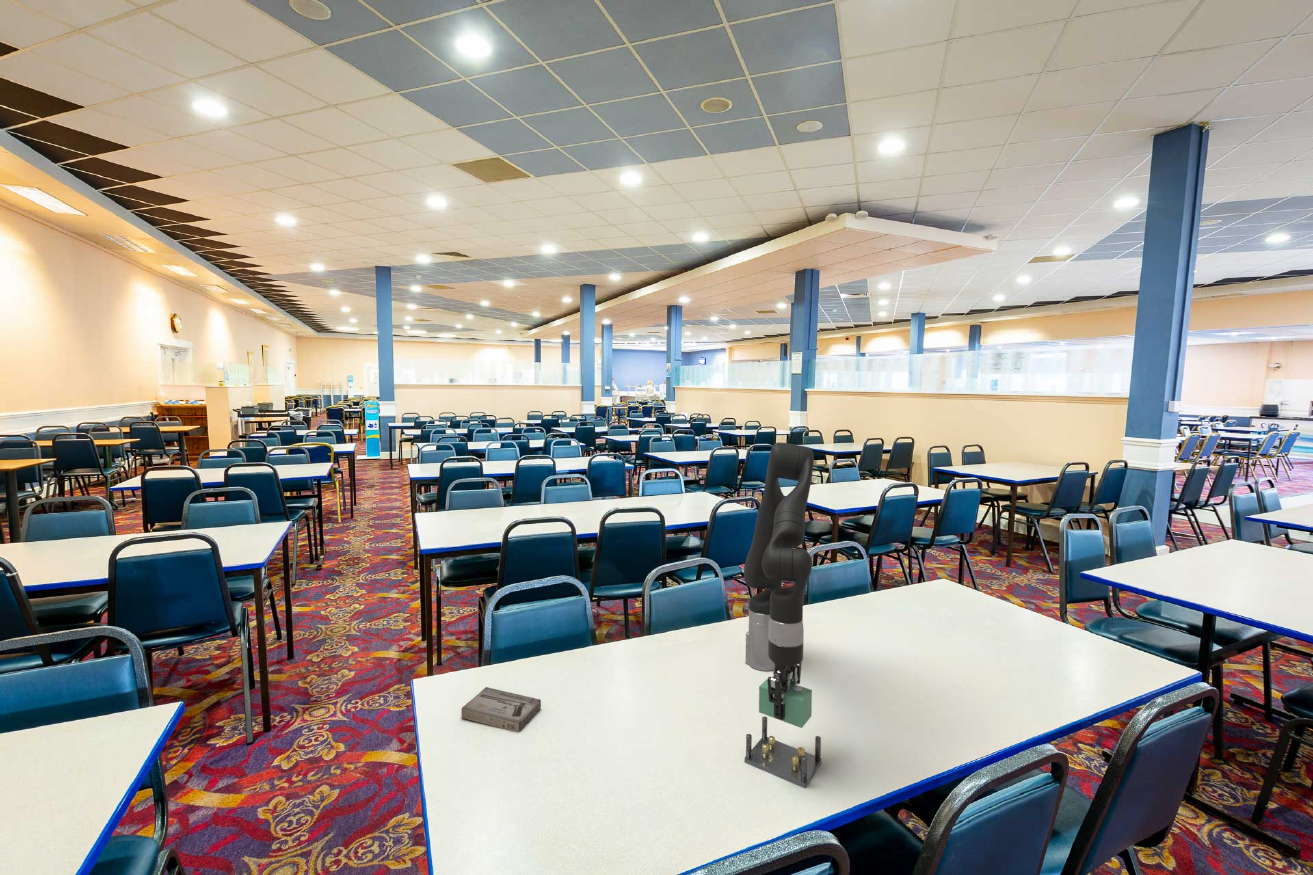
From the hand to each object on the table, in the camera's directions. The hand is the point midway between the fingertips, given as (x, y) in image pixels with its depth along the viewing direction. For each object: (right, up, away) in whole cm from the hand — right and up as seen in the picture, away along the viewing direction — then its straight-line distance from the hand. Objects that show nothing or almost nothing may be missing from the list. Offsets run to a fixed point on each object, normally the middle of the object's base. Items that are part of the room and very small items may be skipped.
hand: (784, 711), depth 122 cm
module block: (0, -1, 0) cm, 1 cm away
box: (-68, -11, +20) cm, 72 cm away
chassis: (0, -12, +1) cm, 12 cm away
